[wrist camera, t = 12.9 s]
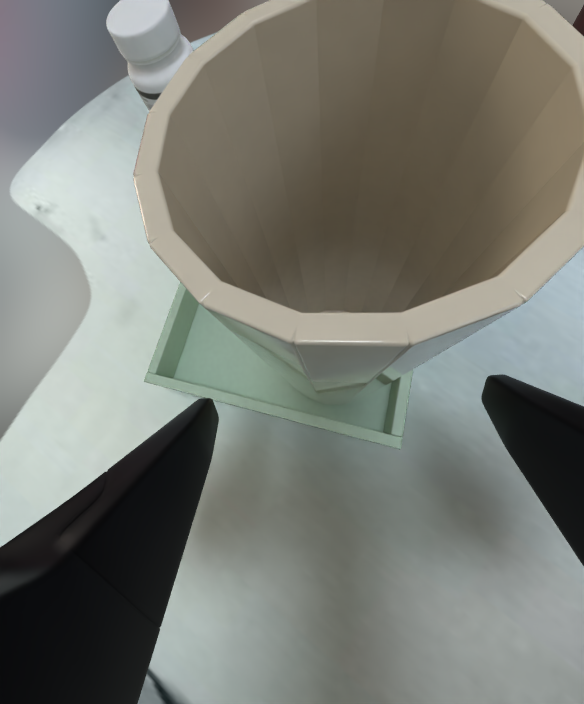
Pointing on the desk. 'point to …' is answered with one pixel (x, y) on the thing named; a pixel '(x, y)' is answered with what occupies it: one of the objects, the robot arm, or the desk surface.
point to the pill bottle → (148, 44)
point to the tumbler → (368, 178)
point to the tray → (262, 379)
